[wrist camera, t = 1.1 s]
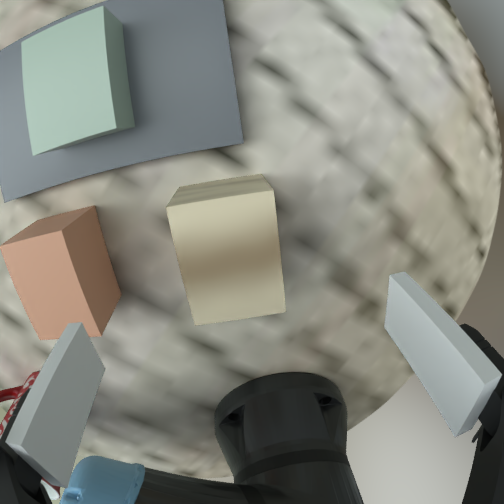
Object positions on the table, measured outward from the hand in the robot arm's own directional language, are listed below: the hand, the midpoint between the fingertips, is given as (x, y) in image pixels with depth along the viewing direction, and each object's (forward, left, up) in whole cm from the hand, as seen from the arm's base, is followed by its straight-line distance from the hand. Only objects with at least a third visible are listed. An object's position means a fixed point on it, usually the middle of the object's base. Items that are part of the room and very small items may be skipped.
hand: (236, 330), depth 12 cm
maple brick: (0, 0, -13) cm, 13 cm away
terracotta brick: (0, +13, -13) cm, 18 cm away
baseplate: (+13, +8, -13) cm, 20 cm away
